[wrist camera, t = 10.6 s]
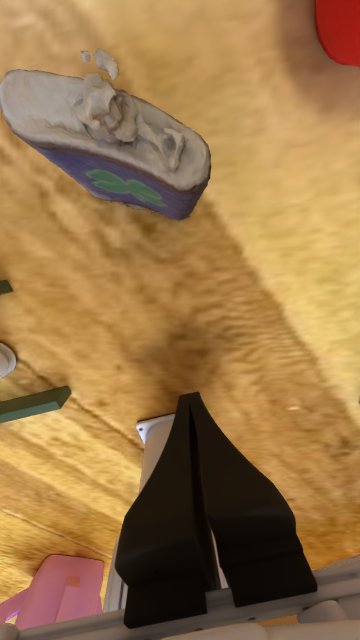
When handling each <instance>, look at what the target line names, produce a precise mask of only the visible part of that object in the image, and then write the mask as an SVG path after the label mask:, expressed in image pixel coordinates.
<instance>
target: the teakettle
mask: <svg viewBox="0 0 360 640" xmlns="http://www.w3.org/2000/svg"><path fill="white" fill-rule="evenodd" d="M103 570H104V567H103V562H102V561H100V560H94V559H88V558H81V557H74V556H66V555H55V554H53V555H50V556H49V557H47V559H46V560H45V561H44V563H43V564H42V565H41V567H40V568H39V570H38V572H37V573H36V575H35V577H34V578H33V580H32V582H31V584H30V586H29V587H28V588H27V589H25V590H23V591H22V592H20V593H18V594H16V595H15V596H13V597H11V598H10V599H8V600H6V601H5V602H3V603H1V604H0V623H5V621H7V620H8V619H10V618H12V617H13V616H15V615H17V614H18V616H17V619H16V622H15V626H17V627H18V628H19V630H22V629H27V628H32V627H37V626H42V625H46V624H51V623H56V622H61V621H66V620H71V619H76V618H81V617H86V616H91V615H96V614H100V613H103V612H102V605H101V598H100V591H101V586H102V581H103Z"/></svg>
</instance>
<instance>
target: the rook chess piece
mask: <svg viewBox="0 0 360 640" xmlns="http://www.w3.org/2000/svg"><path fill="white" fill-rule="evenodd" d="M15 365H16V356H15V354H14V352H13V351H12V349H11V348H9V347H8V346H7V345H5V344H3V343H1V342H0V379H1V378H2V377H4V376H5V375H6V374H9V373H10V372H12V371H13V370H14V368H15Z"/></svg>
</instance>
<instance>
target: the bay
mask: <svg viewBox="0 0 360 640" xmlns="http://www.w3.org/2000/svg"><path fill="white" fill-rule="evenodd" d="M12 291H13V290H12V289H11V287H10V285H9V283H8V282H7V280H1V281H0V295H1V294H5V293H9V292H12ZM70 395H71V391H70V390H69V388H68V386H65V387H61V388H57V389H53V390H49V391H45V392H41V393H37V394H33V395H29V396H25V397H20V398H16V399H12V400H8V401H4V402H0V423H4V422H8V421H12V420H16V419H20V418H25V417H29V416H33V415H37V414H41V413H45V412H49V411H54V410H58V409H61V407H62V406H63V405H64V403H65V402H66V400H67V399H68V397H69V396H70Z"/></svg>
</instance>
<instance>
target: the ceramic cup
mask: <svg viewBox="0 0 360 640" xmlns="http://www.w3.org/2000/svg"><path fill="white" fill-rule="evenodd" d="M315 1H316V7H315V20H316V29H317V33H318V37H319V40H320V43H321V45H322V47H323V49H324V51H325V52H326V53H327V54H328V56H329V57H330V58H331V59H333V60H334V61H335V62H337V63H340V64H343V65H352V66H357V67H360V0H315Z"/></svg>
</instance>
